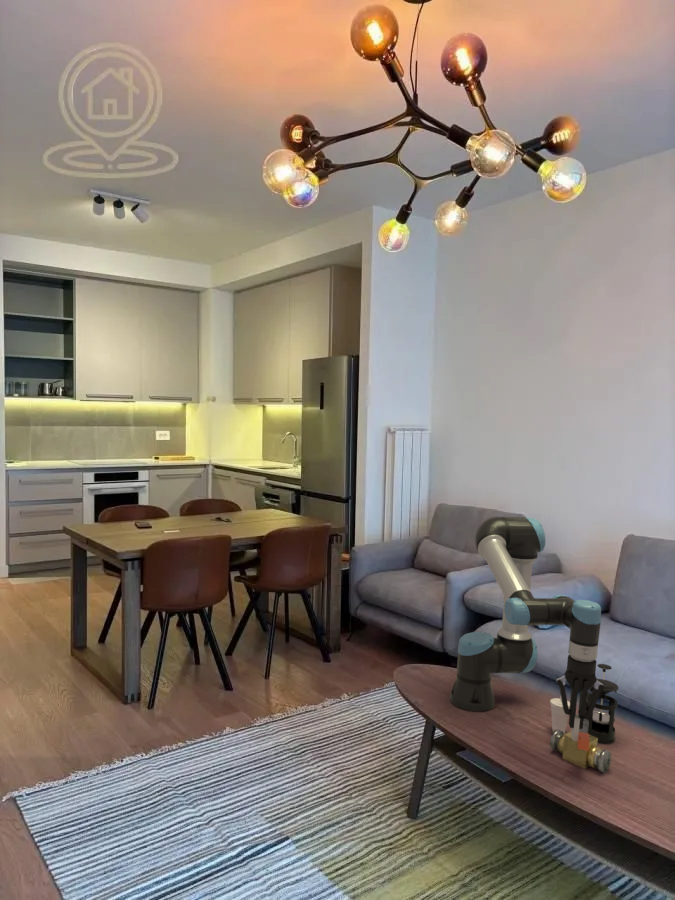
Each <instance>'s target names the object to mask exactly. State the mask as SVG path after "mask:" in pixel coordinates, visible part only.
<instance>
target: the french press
mask: <svg viewBox="0 0 675 900" xmlns="http://www.w3.org/2000/svg"><path fill="white" fill-rule="evenodd" d="M596 667H598V668H600V669H602V679H601V678H597V681H599V682H601V683H602V684H603V686H604V689H603V691H602V692H601V693H600V694H599V697H598V699H600V700H601V701H600V704H599V703H596V705H595V707H594V709H595V708H596V709H598V710H593V713H592V715H591V717H585V719H587V720H588V721H589V726H588V734H590V735H592V736H594V737H597V738H598V742H597V744H601V745H611V744H613V743H615V742H616V728H615V726H614V724H615V721H616V719H615V710H616V709H617V708H618V701H617V700H616V699H615V698H614V697H612V696H610V695H608V694H609V693H612V692H614V693H616V694H617V691H618V690H619V685H618V684H616V683H615V682H612V681H610V680H606V679H605V674H606V672H607V670H612V666H611V665H609V664H605V663H598V664H596ZM593 689H594V685H593V686H592V687H591V688H590V689H589V690H588V691H589V692H588V693H587V698H586V707H587V704H588V702H589V699H590V696H591V694H592V691H593ZM604 700H606V701H609V702H608V703H609V704H608V705H603V701H604ZM586 707H585V709H586ZM604 711H608V713H607V712H604Z"/></svg>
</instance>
